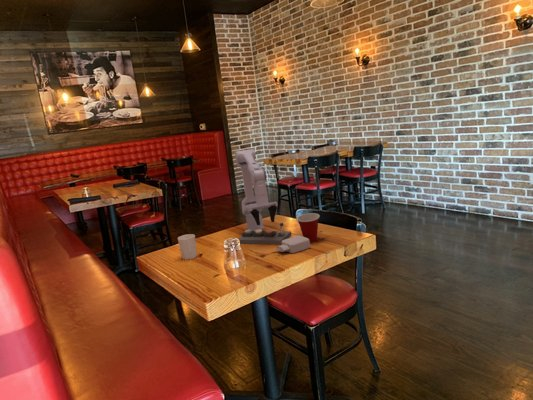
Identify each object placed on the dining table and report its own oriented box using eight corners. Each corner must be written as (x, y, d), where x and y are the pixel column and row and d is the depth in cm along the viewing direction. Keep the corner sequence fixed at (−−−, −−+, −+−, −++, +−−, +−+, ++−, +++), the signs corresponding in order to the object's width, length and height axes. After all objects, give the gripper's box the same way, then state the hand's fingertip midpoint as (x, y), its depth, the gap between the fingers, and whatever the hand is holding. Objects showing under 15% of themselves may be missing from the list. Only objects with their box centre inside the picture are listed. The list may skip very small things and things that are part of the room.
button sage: (246, 232, 205) (246, 229, 204) (252, 232, 203) (252, 229, 203) (244, 234, 202) (243, 231, 201) (249, 234, 200) (249, 231, 200)
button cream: (257, 232, 202) (257, 229, 202) (263, 232, 201) (262, 229, 200) (254, 234, 199) (254, 231, 199) (260, 234, 198) (260, 231, 198)
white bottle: (271, 253, 179) (298, 244, 186) (282, 258, 171) (310, 248, 178) (270, 243, 178) (297, 234, 185) (281, 247, 170) (309, 238, 177)
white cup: (201, 254, 189) (197, 234, 187) (192, 260, 182) (189, 239, 180) (186, 254, 192) (183, 234, 190) (177, 260, 184) (174, 239, 182)
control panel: (248, 234, 211) (248, 227, 210) (291, 235, 201) (290, 227, 200) (236, 243, 198) (235, 236, 198) (281, 244, 188) (280, 236, 188)
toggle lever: (280, 232, 196) (280, 222, 197) (283, 232, 196) (284, 222, 197) (278, 232, 195) (279, 222, 196) (282, 232, 194) (282, 222, 195)
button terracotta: (268, 232, 200) (267, 229, 199) (274, 232, 198) (273, 229, 198) (265, 234, 197) (265, 231, 196) (271, 234, 196) (271, 231, 195)
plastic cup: (296, 244, 186) (293, 219, 184) (302, 237, 196) (300, 213, 193) (318, 244, 182) (316, 219, 179) (324, 237, 191) (322, 212, 189)
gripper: (251, 197, 181) (255, 227, 182) (278, 192, 187) (283, 220, 189) (244, 197, 187) (249, 226, 188) (271, 192, 194) (276, 220, 195)
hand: (265, 223), depth 189 cm, fingers open, 7 cm apart
